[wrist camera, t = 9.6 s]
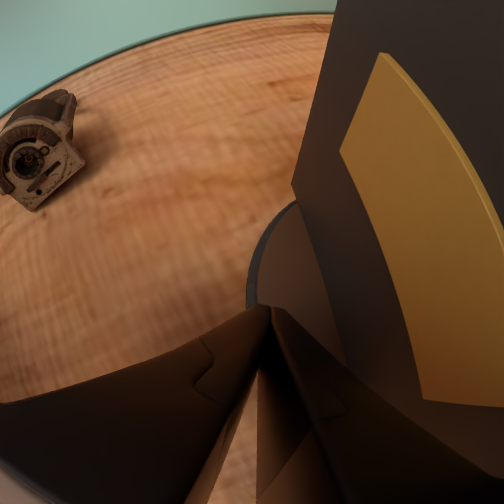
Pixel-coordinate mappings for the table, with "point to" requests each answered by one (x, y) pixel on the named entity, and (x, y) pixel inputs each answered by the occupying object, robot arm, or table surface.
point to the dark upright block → (406, 215)
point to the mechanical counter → (39, 148)
